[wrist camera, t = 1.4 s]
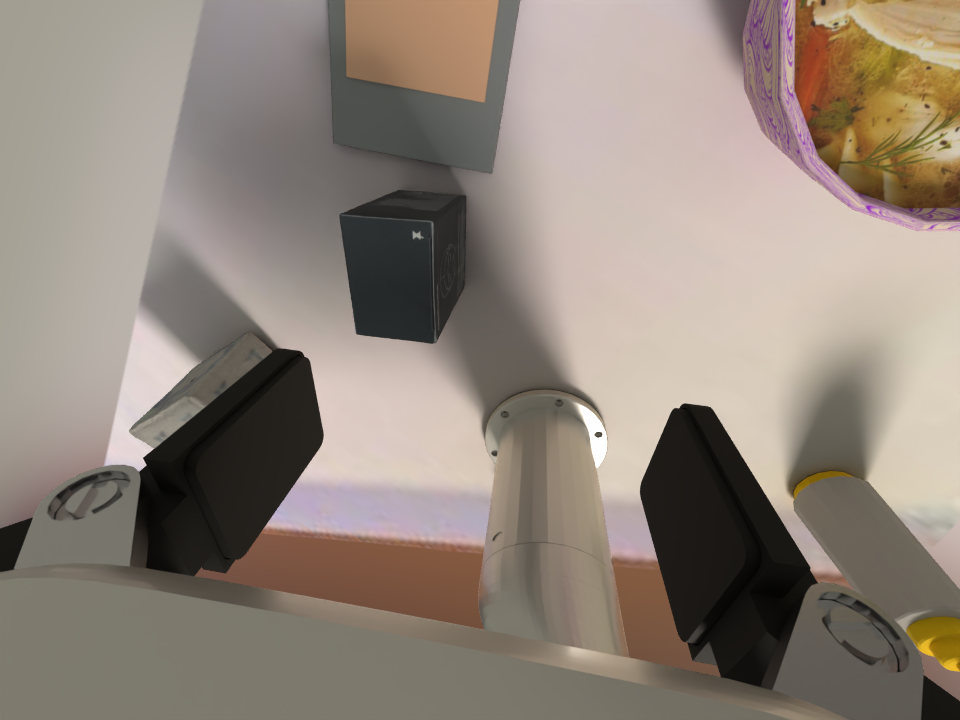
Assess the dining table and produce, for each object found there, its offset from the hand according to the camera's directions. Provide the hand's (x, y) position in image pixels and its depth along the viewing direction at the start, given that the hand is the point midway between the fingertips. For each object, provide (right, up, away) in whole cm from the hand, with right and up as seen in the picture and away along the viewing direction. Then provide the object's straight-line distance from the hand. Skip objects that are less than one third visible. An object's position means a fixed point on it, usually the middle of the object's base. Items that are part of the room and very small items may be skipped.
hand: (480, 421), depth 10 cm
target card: (-4, +24, +15) cm, 28 cm away
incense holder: (-24, 0, +32) cm, 40 cm away
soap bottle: (+35, -12, +29) cm, 47 cm away
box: (-4, +12, +22) cm, 25 cm away
